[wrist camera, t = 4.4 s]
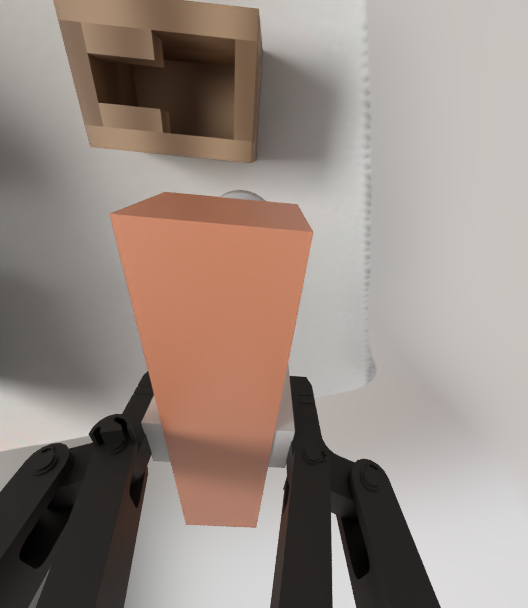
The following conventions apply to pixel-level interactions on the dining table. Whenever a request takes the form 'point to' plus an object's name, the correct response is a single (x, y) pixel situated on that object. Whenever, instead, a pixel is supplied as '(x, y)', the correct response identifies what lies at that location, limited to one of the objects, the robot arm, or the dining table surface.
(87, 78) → the keyhole plates
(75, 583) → the robot arm
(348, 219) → the dining table surface
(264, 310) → the salmon bridge bar
